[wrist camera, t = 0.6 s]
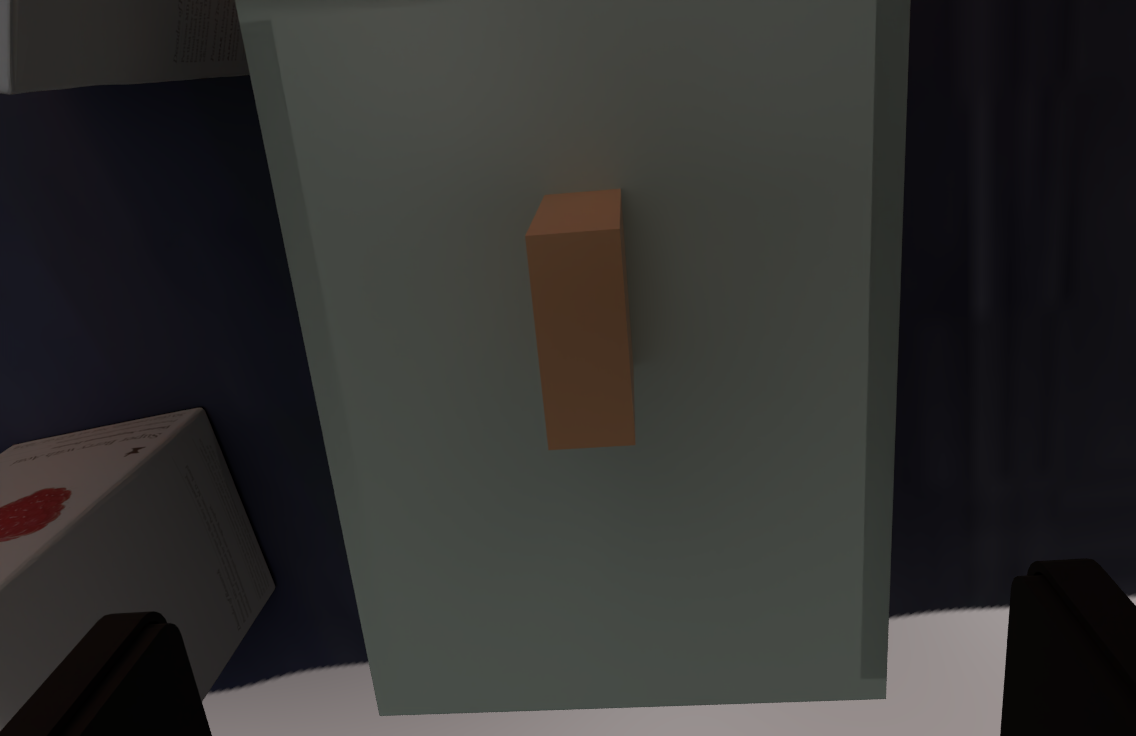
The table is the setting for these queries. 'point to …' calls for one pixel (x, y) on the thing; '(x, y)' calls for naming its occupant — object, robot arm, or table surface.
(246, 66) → the skincare box
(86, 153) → the table surface
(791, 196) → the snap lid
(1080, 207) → the table surface
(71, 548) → the supplement box
